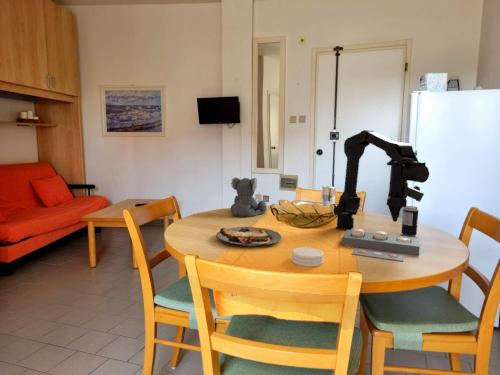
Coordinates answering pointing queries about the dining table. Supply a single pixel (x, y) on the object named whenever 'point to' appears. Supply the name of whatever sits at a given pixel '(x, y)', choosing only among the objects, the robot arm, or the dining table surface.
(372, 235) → the button board
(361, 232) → the button left
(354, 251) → the pattern card
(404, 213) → the beverage can
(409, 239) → the button right
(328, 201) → the beer glass
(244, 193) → the koala plush
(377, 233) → the button middle
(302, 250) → the grey stacked discs
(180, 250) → the dining table surface
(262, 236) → the food plate
